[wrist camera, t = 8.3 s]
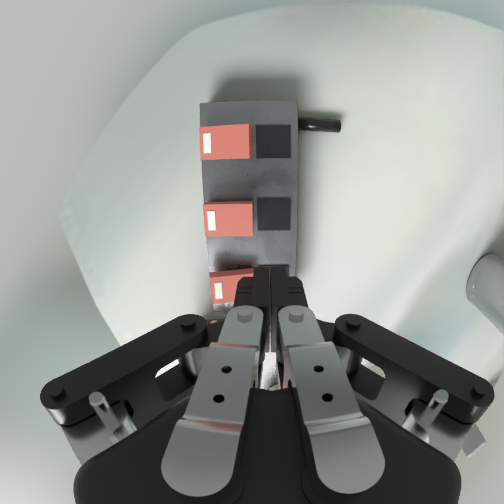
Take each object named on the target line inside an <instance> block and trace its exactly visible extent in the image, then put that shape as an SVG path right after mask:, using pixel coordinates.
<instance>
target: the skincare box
mask: <svg viewBox="0 0 504 504" xmlns="http://www.w3.org/2000/svg"><path fill="white" fill-rule="evenodd" d="M485 445H486V441H485V439H484V437H483V436H482V434H481V432H480V431H479V429H478V427H477V426H476V424H475V425H474V426H473V427H472V428H471V429H470V432H469V434H468V436H467V438H466V440H465V442H464V444H463V446H462V449H463V451H464V453H465V455H466V457H467V458H470V457H471V456H473V455H474V454H475V453H476V452H478V451H479V450H480V449H481V448H483V447H484V446H485Z"/></svg>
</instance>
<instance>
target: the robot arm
mask: <svg viewBox="0 0 504 504" xmlns="http://www.w3.org/2000/svg"><path fill="white" fill-rule="evenodd" d="M466 293H467V297H468V299H469V301H470V302H471V303H473V304H474V305H475V306H476V307H477V308H478V309H479V310H480V311H481V312H482V313H483V314H484V315H485V316H486V317H487V318H488V319H489V320H490V321H491V322H492V323H493V324H494V325H495V326H496V328H497V329H498V330H499V331H500V332H501V333H502V334H503V335H504V260H502V259H501V258H499V257H498V256H496V255H494V254H488V255H485V256H484V257H482V258H481V259H480V260H479V261H478V263H477V264H476V265H475V267H474V268H473V270H472V272H471V274H470V276H469V279H468V283H467V289H466ZM270 332H271V352H276V371H277V378H278V384H279V390H272V391H271V390H265V389H260V387H261V379H262V371H263V361H264V359H265V352H269V345H270ZM362 358H364V359H366V360H368V361H369V362H371V363H373V364H375V365H376V366H378V367H380V368H381V369H382V370H383V371H384V373H385V378H383V377H381V376H380V375H378V374H376V373H375V372H373V371H371V370H370V369H368V368H366V367H365V366H363V365H362V364H361V361H362ZM176 359H178V361H179V364H178V365H176V366H174V367H173V368H171V369H170V370H168V371H166V372H165V373H163V374H161V375H160V376H158V377H156V378H155V376H156V374H157V372H158V371H159V370H160V369H161V368H163V367H164V366H166V365H168V364H169V363H171V362H173V361H174V360H176ZM40 399H41V402H42V404H43V406H44V407H45V408H46V409H47V411H48V412H49V413H50V415H51V416H52V418H53V420H54V421H55V422H56V424H57V425H58V426H59V427H60V429H61V430H62V431H63V432H64V434H65V436H66V437H67V439H68V441H69V443H70V445H71V447H72V449H73V451H74V453H75V454H76V456H77V458H78V460H79V461H80V463H81V464H82V466H81V467H80V469H79V470H78V472H77V474H76V477H75V481H74V497H75V502H76V504H458V500H459V496H460V491H461V475H460V472H459V469H458V467H457V466H456V464H455V463H454V460H455V458H456V457H457V455H458V453H459V451H460V450H461V448H462V446H463V444H464V442H465V440H466V438H467V436H468V434H469V432H470V429H471V428H472V427H473V426H474V425H475V423H476V422H477V421H478V420H479V418H480V417H481V416H482V415H483V413H484V412H485V411H486V410H487V408H488V407H489V406H490V404H491V403H492V402H493V400H494V390H493V387H492V386H491V384H490V383H489V382H488V381H487V380H485V379H483V378H481V377H479V376H477V375H475V374H474V373H472V372H470V371H468V370H466V369H464V368H462V367H460V366H458V365H456V364H454V363H452V362H450V361H448V360H446V359H444V358H442V357H440V356H438V355H436V354H434V353H432V352H430V351H428V350H426V349H424V348H423V347H421V346H419V345H417V344H415V343H413V342H411V341H409V340H407V339H405V338H403V337H401V336H399V335H397V334H395V333H393V332H391V331H389V330H388V329H386V328H384V327H382V326H380V325H378V324H376V323H374V322H372V321H370V320H368V319H366V318H364V317H362V316H360V315H356V314H345V315H342V316H340V317H338V318H337V319H336V321H335V323H329V322H324V321H321V320H318V319H316V317H315V315H314V313H313V311H312V310H310V309H309V308H308V304H307V300H306V296H305V293H304V288H303V284H302V281H301V280H300V279H298V278H297V277H296V276H288V277H287V274H286V268H285V267H270V281H269V267H254V273H253V277H242V278H241V279H240V280H239V281H238V283H237V289H236V294H235V299H234V305H233V308H232V309H231V310H230V311H229V312H228V313H227V315H226V318H225V320H223V321H220V322H216V323H210V324H207V322H206V320H205V319H204V318H203V317H202V316H199V315H195V314H187V315H182V316H179V317H177V318H175V319H173V320H171V321H169V322H167V323H165V324H163V325H162V326H160V327H158V328H156V329H154V330H152V331H150V332H148V333H146V334H144V335H142V336H140V337H138V338H136V339H134V340H132V341H130V342H128V343H127V344H125V345H123V346H121V347H119V348H117V349H115V350H113V351H111V352H109V353H107V354H105V355H103V356H101V357H99V358H97V359H95V360H93V361H91V362H89V363H87V364H84V365H82V366H80V367H78V368H76V369H74V370H72V371H70V372H68V373H66V374H64V375H62V376H60V377H58V378H56V379H53V380H52V381H50V382H48V383H47V384H46V385H45V386H44V387H43V389H42V391H41V394H40Z"/></svg>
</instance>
